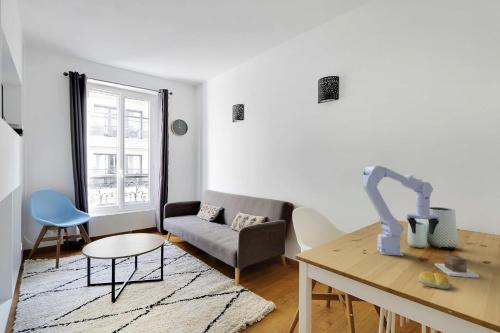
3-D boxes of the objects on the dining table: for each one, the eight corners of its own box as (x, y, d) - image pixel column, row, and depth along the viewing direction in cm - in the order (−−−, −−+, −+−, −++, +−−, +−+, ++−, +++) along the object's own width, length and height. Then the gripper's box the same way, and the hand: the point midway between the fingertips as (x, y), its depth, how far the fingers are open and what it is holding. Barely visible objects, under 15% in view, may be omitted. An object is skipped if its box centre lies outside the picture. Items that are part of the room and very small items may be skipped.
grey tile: (449, 275, 95) (449, 273, 95) (434, 265, 104) (434, 263, 104) (478, 277, 93) (478, 275, 93) (461, 267, 102) (461, 265, 102)
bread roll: (418, 276, 94) (418, 266, 94) (447, 282, 89) (447, 271, 89) (419, 285, 87) (419, 274, 87) (451, 292, 82) (451, 280, 82)
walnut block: (452, 271, 96) (452, 258, 96) (444, 266, 101) (444, 254, 101) (466, 272, 96) (466, 259, 96) (458, 267, 100) (458, 255, 100)
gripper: (410, 206, 117) (409, 235, 117) (444, 207, 114) (444, 236, 114) (403, 204, 124) (403, 231, 124) (435, 205, 121) (435, 232, 121)
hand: (422, 233), depth 120 cm, fingers open, 7 cm apart
